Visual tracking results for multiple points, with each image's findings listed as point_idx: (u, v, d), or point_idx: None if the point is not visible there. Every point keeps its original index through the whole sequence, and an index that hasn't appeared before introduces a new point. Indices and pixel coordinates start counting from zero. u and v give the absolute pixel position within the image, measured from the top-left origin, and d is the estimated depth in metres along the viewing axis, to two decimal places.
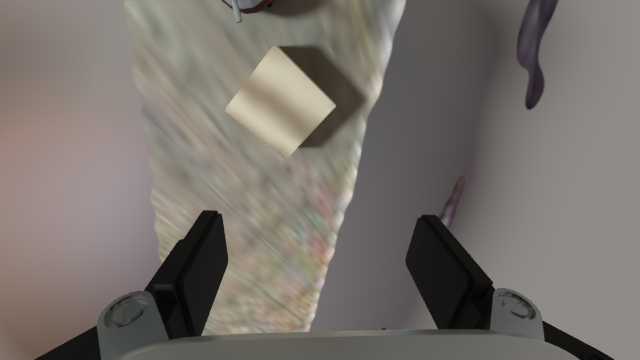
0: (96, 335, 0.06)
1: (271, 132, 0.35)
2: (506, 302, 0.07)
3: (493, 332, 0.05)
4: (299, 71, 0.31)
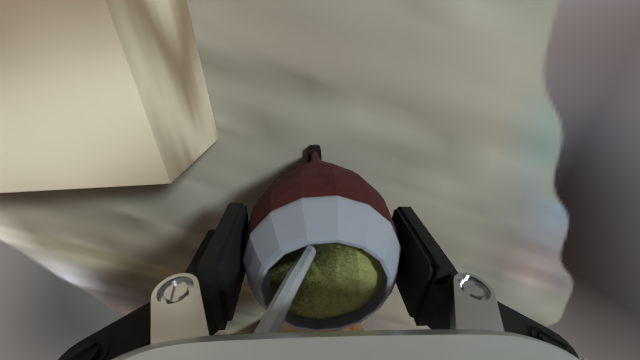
0: (148, 311, 0.07)
1: None
2: (465, 286, 0.08)
3: (493, 332, 0.05)
4: (49, 184, 0.09)
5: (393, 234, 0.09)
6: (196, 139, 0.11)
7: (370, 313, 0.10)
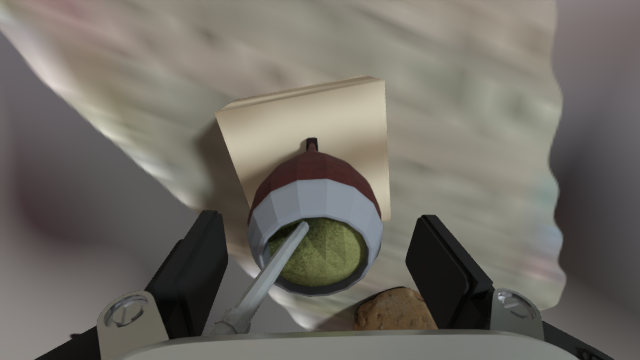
0: (96, 335, 0.06)
1: (286, 128, 0.16)
2: (506, 302, 0.07)
3: (493, 332, 0.05)
4: None
5: (375, 213, 0.11)
6: None
7: (355, 281, 0.11)
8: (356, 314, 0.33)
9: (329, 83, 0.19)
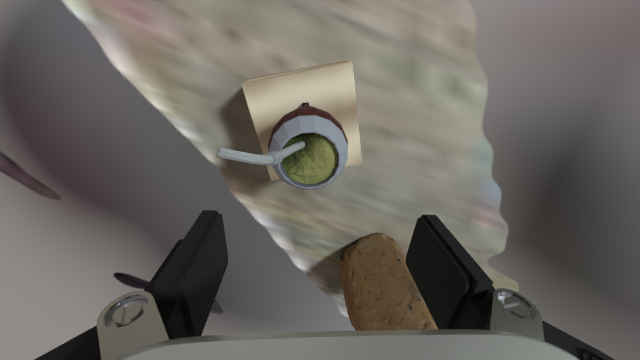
0: (96, 335, 0.06)
1: (288, 95, 0.24)
2: (506, 302, 0.07)
3: (493, 332, 0.05)
4: None
5: (342, 136, 0.19)
6: None
7: (332, 177, 0.20)
8: (342, 256, 0.42)
9: (317, 66, 0.27)
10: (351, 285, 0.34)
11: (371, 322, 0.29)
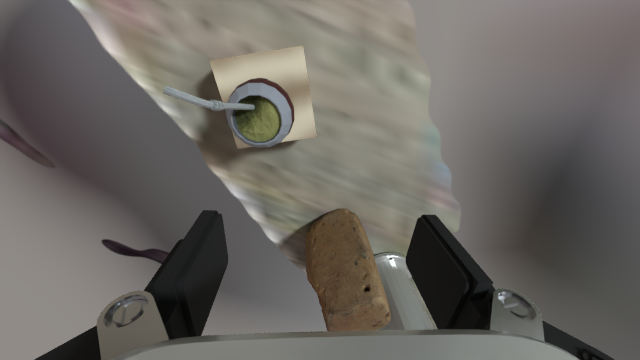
0: (96, 335, 0.06)
1: (249, 72, 0.28)
2: (506, 302, 0.07)
3: (493, 332, 0.05)
4: (285, 139, 0.33)
5: (285, 101, 0.24)
6: None
7: (277, 135, 0.24)
8: (310, 229, 0.46)
9: None
10: (311, 249, 0.39)
11: (322, 276, 0.33)
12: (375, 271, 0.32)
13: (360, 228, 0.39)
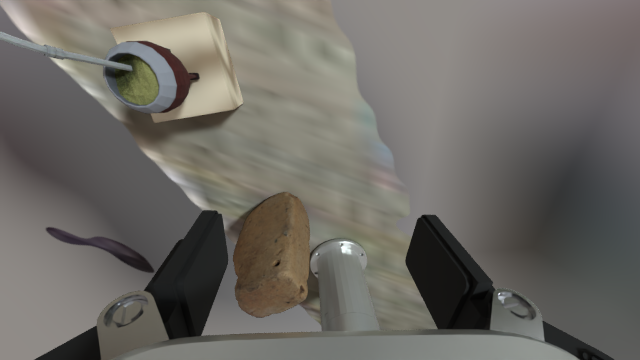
0: (96, 335, 0.06)
1: (153, 40, 0.28)
2: (506, 302, 0.07)
3: (493, 332, 0.05)
4: (202, 113, 0.32)
5: (163, 61, 0.23)
6: (237, 100, 0.34)
7: (157, 97, 0.23)
8: None
9: None
10: (243, 231, 0.38)
11: (243, 255, 0.33)
12: (291, 247, 0.31)
13: (293, 209, 0.38)
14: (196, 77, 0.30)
